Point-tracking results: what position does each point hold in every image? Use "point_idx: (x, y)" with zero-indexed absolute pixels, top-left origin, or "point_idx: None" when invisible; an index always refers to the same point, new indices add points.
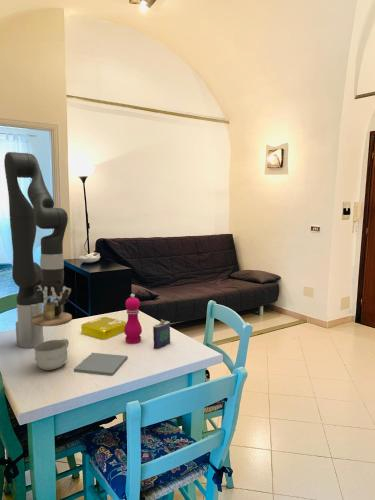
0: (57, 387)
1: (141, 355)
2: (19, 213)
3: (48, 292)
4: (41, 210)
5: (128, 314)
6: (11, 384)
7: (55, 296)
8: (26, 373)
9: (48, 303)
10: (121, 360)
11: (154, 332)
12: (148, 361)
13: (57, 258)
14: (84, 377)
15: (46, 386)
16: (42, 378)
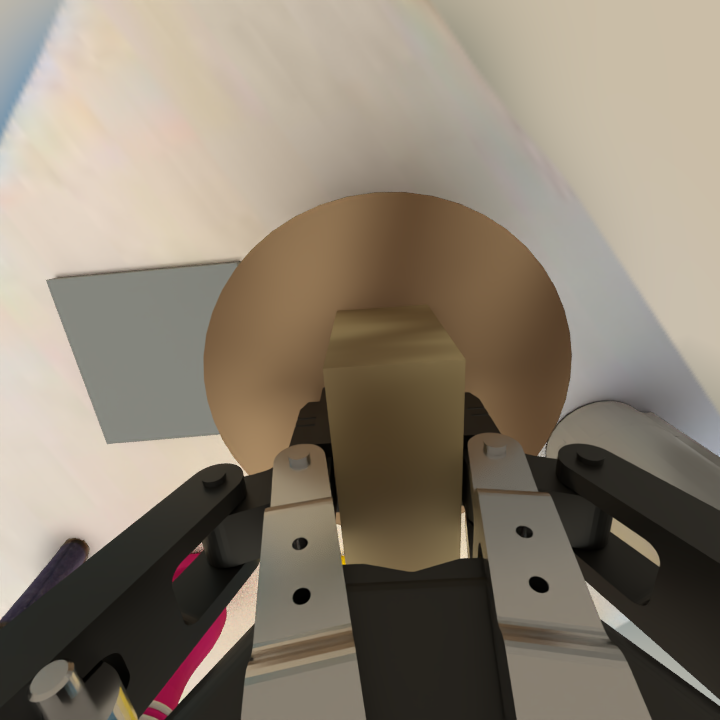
0: (200, 89)
1: (83, 476)
2: None
3: (485, 627)
4: None
5: (158, 696)
6: (433, 41)
7: (274, 545)
8: (436, 175)
9: (442, 461)
10: (98, 398)
11: (23, 602)
12: (19, 438)
13: None
14: (157, 224)
15: (256, 81)
16: (330, 152)
